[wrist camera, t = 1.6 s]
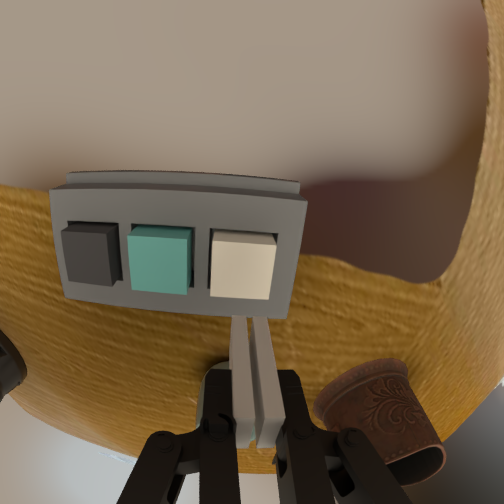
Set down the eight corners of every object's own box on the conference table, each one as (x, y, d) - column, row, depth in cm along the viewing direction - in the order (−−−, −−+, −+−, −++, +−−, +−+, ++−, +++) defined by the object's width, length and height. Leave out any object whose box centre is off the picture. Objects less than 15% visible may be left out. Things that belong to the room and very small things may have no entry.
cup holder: (373, 420, 45) (409, 513, 22) (267, 422, 41) (285, 548, 18) (425, 359, 39) (489, 461, 16) (312, 351, 35) (367, 523, 12)
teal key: (141, 274, 25) (131, 289, 22) (138, 224, 23) (127, 235, 20) (191, 278, 25) (186, 294, 23) (192, 227, 24) (187, 239, 21)
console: (83, 286, 29) (67, 306, 25) (71, 171, 24) (48, 178, 20) (278, 303, 31) (284, 327, 27) (297, 181, 26) (309, 188, 22)
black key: (81, 267, 24) (68, 281, 22) (76, 221, 22) (60, 231, 20) (123, 272, 25) (112, 286, 22) (119, 223, 23) (106, 233, 20)
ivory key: (212, 279, 26) (210, 296, 23) (215, 228, 24) (212, 240, 21) (264, 282, 26) (268, 299, 23) (271, 233, 24) (276, 245, 22)
